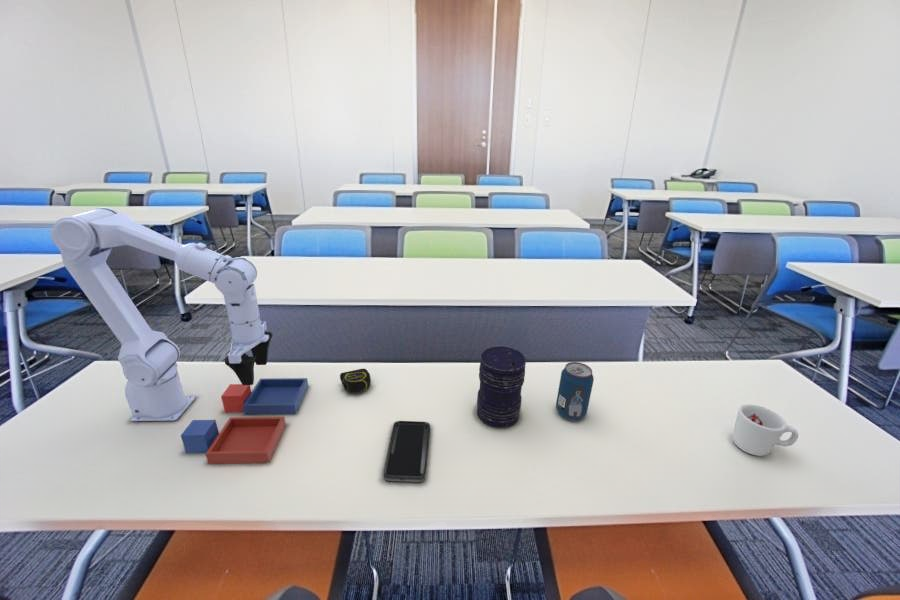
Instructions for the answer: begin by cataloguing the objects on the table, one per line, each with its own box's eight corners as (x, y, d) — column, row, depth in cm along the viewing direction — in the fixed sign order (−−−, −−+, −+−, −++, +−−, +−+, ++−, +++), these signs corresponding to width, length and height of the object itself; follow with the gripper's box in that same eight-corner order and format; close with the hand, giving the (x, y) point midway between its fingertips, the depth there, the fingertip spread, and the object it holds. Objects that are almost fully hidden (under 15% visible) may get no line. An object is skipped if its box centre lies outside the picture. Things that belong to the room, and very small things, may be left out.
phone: (430, 422, 86) (424, 478, 72) (430, 426, 86) (424, 482, 72) (393, 420, 86) (381, 476, 72) (394, 424, 86) (381, 480, 72)
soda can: (571, 400, 96) (579, 357, 91) (592, 418, 90) (602, 373, 86) (548, 407, 93) (555, 364, 88) (568, 426, 88) (577, 381, 83)
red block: (224, 412, 88) (220, 396, 87) (233, 399, 92) (230, 384, 91) (245, 412, 89) (241, 395, 87) (253, 399, 93) (249, 384, 91)
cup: (780, 442, 85) (794, 412, 82) (796, 469, 78) (812, 438, 75) (722, 429, 88) (734, 400, 85) (733, 454, 81) (746, 424, 78)
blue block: (185, 453, 77) (180, 435, 76) (197, 436, 81) (192, 419, 80) (209, 452, 78) (204, 435, 76) (219, 436, 82) (215, 419, 80)
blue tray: (244, 414, 88) (242, 405, 87) (261, 387, 97) (260, 378, 96) (296, 414, 89) (294, 404, 88) (308, 386, 98) (307, 378, 97)
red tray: (208, 464, 75) (205, 453, 74) (232, 426, 84) (229, 417, 83) (268, 462, 76) (266, 452, 75) (286, 425, 85) (284, 416, 84)
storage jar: (467, 411, 91) (470, 355, 85) (496, 395, 97) (501, 341, 91) (499, 435, 84) (505, 376, 78) (528, 416, 90) (536, 360, 84)
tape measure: (367, 377, 102) (366, 365, 101) (373, 392, 97) (373, 379, 95) (340, 383, 100) (339, 370, 98) (345, 398, 94) (344, 385, 92)
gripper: (250, 335, 75) (261, 394, 81) (276, 303, 88) (284, 356, 94) (211, 335, 75) (225, 394, 80) (244, 303, 88) (253, 356, 93)
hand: (255, 373), depth 87 cm, fingers open, 7 cm apart
